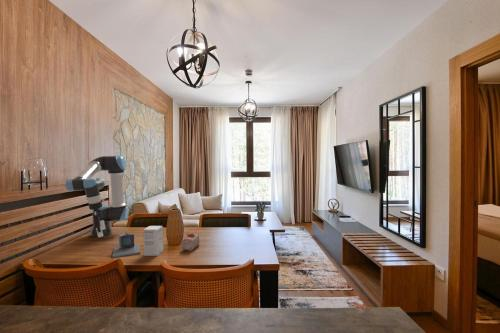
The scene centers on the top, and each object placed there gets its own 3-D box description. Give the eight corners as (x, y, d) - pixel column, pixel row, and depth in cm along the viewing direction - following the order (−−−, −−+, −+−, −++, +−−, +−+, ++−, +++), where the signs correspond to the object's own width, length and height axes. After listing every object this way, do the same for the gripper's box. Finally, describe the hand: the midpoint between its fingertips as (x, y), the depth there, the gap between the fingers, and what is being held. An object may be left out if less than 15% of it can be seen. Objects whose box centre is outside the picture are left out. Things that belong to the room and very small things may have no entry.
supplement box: (149, 250, 173) (149, 225, 172) (163, 250, 173) (163, 225, 172) (143, 256, 163) (142, 229, 163) (158, 255, 163) (157, 229, 163)
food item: (192, 252, 169) (192, 237, 169) (181, 251, 171) (180, 236, 171) (200, 245, 183) (200, 231, 182) (189, 244, 184) (189, 231, 184)
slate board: (114, 249, 177) (114, 247, 177) (139, 245, 184) (139, 243, 184) (112, 257, 161) (112, 256, 161) (140, 253, 167) (140, 251, 167)
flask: (119, 249, 173) (118, 233, 172) (119, 248, 175) (118, 232, 175) (134, 247, 177) (134, 231, 176) (134, 246, 179) (133, 230, 179)
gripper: (91, 199, 177) (98, 228, 180) (84, 208, 154) (92, 241, 158) (103, 196, 179) (110, 225, 183) (98, 205, 157) (106, 238, 160)
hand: (102, 233), depth 170 cm, fingers open, 13 cm apart
